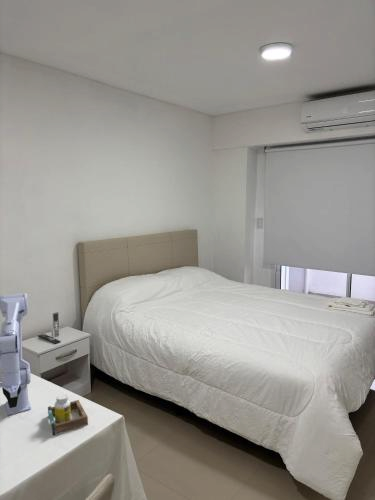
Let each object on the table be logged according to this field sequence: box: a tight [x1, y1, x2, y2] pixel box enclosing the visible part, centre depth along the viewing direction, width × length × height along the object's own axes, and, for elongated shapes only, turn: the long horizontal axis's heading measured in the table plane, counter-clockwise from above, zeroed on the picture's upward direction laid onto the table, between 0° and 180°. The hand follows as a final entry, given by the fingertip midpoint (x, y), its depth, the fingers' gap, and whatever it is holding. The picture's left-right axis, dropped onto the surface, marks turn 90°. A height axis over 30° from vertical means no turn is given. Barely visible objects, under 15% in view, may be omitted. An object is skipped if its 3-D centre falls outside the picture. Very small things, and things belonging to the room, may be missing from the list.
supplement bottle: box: [54, 393, 72, 424], centre depth 137 cm, size 5×5×10 cm
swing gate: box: [47, 405, 56, 429], centre depth 135 cm, size 10×1×3 cm, turn 27°
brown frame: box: [51, 399, 89, 436], centre depth 138 cm, size 13×12×4 cm
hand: (12, 406), depth 130 cm, fingers closed
